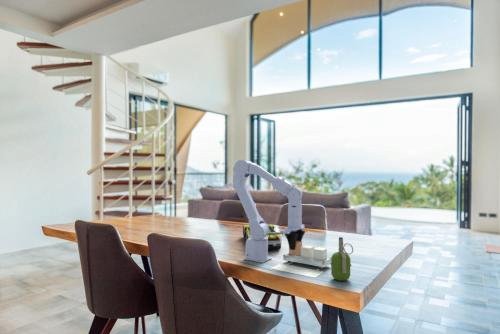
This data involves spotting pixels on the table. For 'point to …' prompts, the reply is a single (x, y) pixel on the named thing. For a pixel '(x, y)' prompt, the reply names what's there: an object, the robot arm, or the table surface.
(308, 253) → the part
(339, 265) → the grenade
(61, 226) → the table surface
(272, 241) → the racing car
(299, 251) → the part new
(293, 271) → the track
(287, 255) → the beam with t-bracket
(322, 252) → the part
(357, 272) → the table surface
